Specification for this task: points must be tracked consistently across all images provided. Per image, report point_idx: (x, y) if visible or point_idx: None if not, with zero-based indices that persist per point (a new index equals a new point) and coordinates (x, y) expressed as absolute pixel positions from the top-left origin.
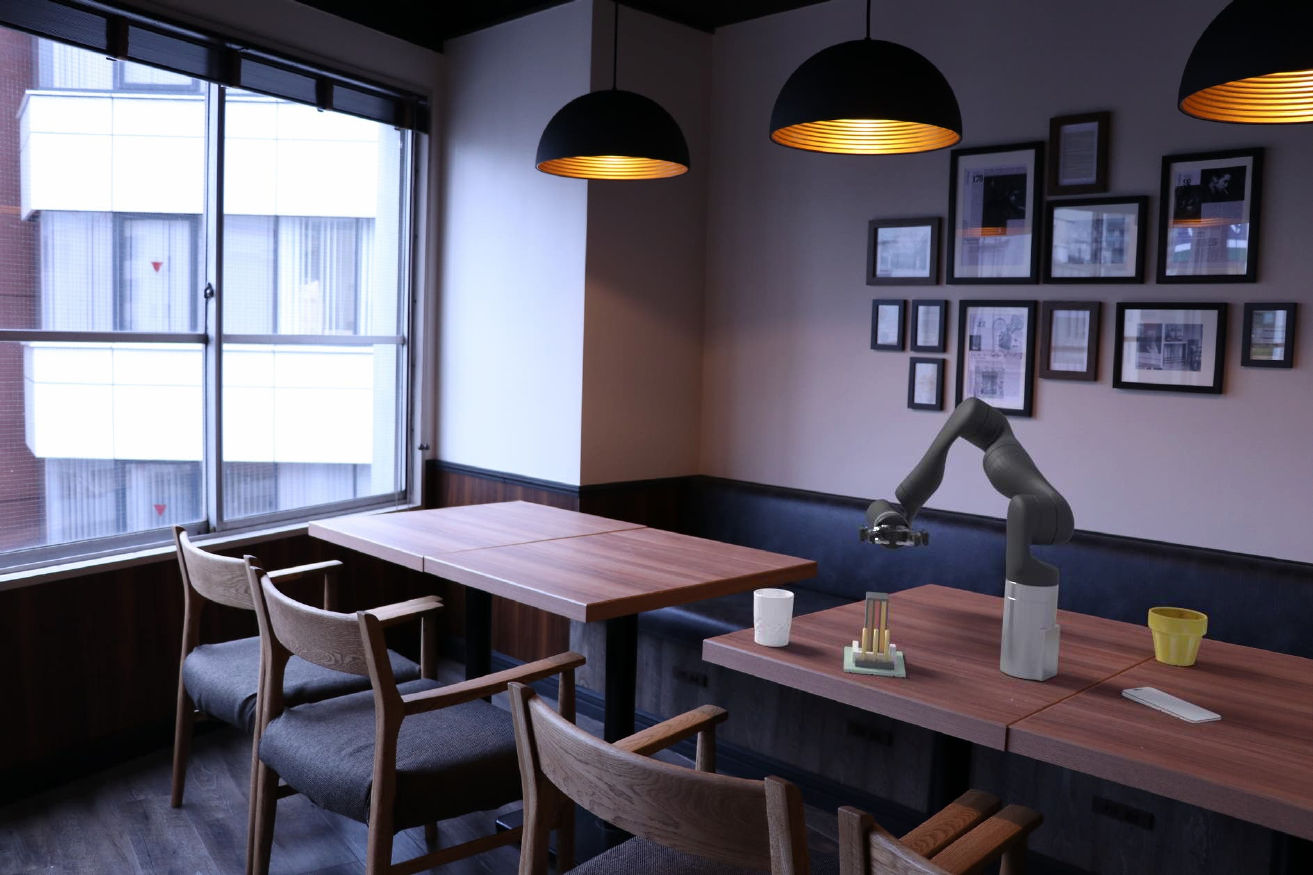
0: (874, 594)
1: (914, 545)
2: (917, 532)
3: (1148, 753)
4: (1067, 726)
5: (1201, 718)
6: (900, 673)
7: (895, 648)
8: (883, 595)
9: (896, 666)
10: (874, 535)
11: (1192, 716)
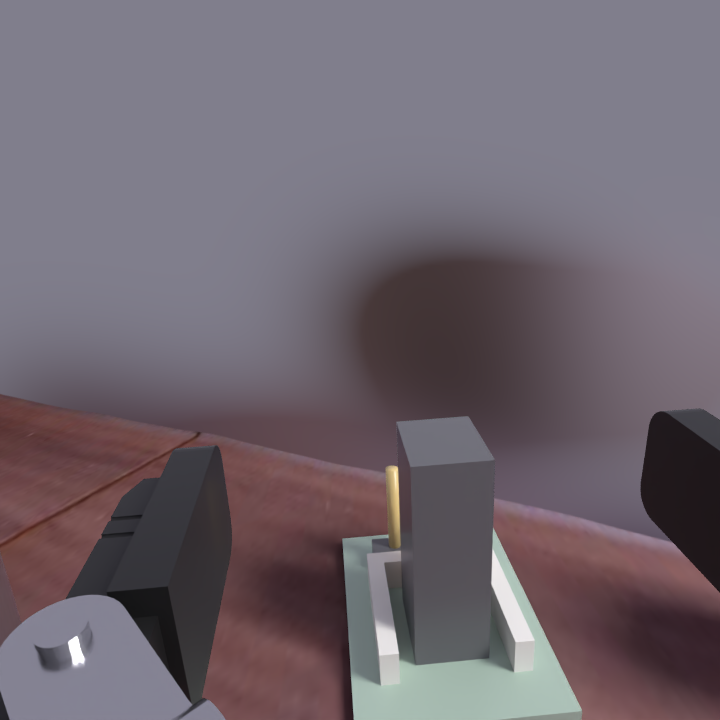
0: (454, 444)
1: (226, 555)
2: (68, 630)
3: (38, 425)
4: (96, 454)
5: None
6: (355, 540)
7: (374, 611)
8: (421, 445)
9: (367, 579)
10: (661, 417)
11: None
